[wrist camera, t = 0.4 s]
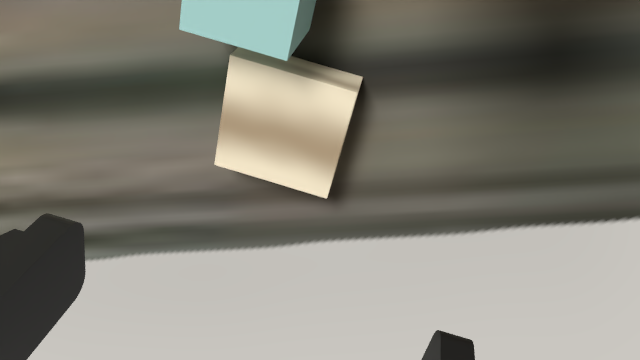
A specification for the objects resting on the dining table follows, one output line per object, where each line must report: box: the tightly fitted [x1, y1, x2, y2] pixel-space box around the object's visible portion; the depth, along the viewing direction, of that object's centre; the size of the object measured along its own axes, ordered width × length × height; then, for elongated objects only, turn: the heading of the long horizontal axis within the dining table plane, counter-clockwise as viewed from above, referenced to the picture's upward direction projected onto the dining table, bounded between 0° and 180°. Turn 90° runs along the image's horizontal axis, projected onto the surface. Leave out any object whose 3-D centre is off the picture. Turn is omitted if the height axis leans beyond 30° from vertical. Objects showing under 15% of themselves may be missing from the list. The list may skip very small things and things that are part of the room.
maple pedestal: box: [215, 47, 363, 199], centre depth 36 cm, size 8×8×3 cm
